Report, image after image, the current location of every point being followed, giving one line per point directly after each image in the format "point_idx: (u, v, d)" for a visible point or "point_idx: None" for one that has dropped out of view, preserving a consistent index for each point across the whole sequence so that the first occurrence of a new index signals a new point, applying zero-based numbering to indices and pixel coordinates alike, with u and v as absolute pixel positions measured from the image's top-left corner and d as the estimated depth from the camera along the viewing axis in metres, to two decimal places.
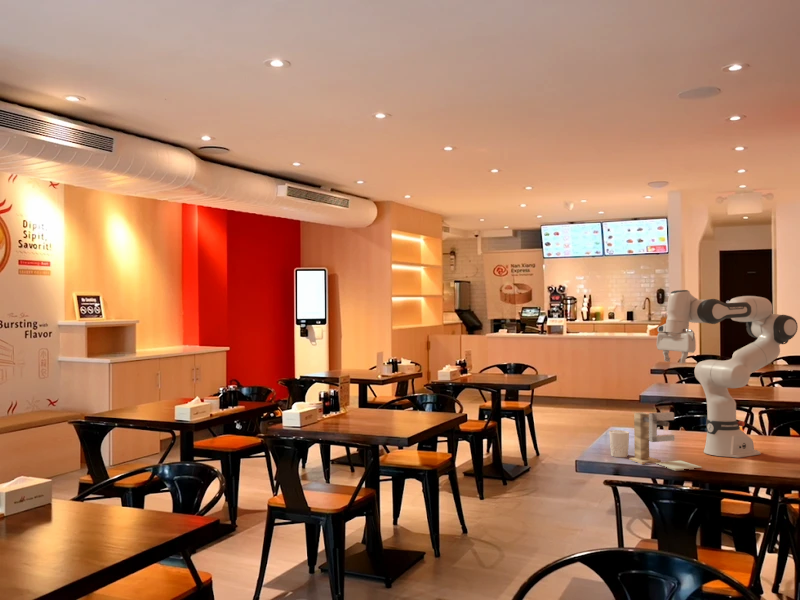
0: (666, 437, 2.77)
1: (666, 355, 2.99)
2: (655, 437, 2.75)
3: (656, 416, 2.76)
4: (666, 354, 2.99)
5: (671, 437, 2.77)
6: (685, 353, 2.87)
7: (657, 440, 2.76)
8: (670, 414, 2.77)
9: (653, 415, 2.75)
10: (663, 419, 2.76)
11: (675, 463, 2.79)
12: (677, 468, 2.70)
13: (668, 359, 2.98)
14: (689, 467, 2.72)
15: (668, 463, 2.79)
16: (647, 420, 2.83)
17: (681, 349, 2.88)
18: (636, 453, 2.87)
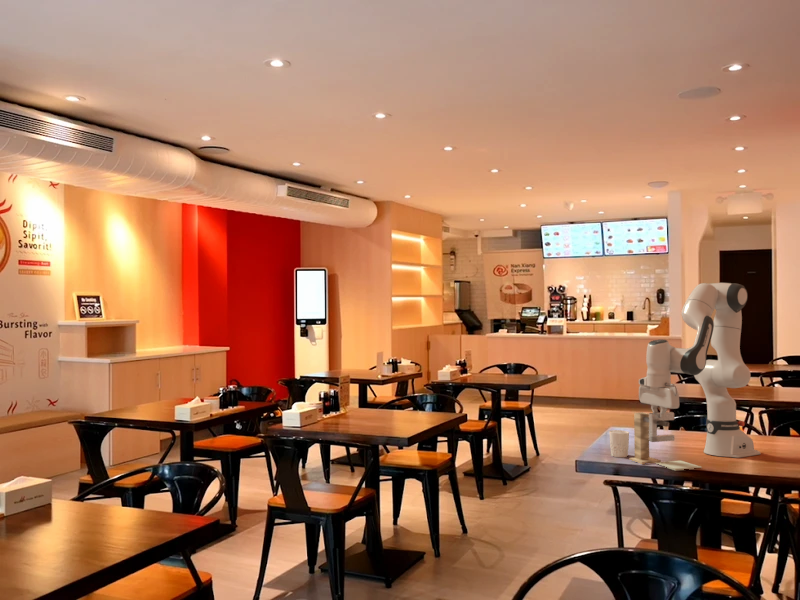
0: (666, 437, 2.77)
1: (655, 410, 2.79)
2: (655, 437, 2.75)
3: (656, 416, 2.76)
4: (655, 409, 2.79)
5: (671, 437, 2.77)
6: (664, 408, 2.74)
7: (657, 440, 2.76)
8: (670, 414, 2.77)
9: (653, 415, 2.75)
10: (663, 419, 2.76)
11: (675, 463, 2.79)
12: (677, 468, 2.70)
13: None
14: (689, 467, 2.72)
15: (668, 463, 2.79)
16: (647, 420, 2.83)
17: (664, 405, 2.71)
18: (636, 453, 2.87)
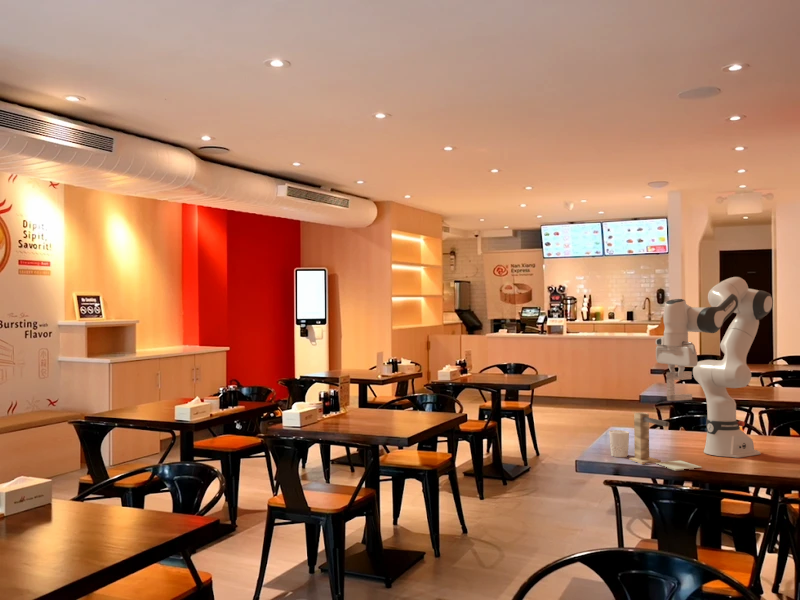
0: (684, 396, 2.77)
1: (672, 369, 2.80)
2: (673, 396, 2.76)
3: (674, 374, 2.76)
4: (672, 368, 2.80)
5: (688, 396, 2.78)
6: (682, 366, 2.74)
7: (675, 399, 2.76)
8: (688, 373, 2.78)
9: (671, 374, 2.76)
10: (681, 378, 2.77)
11: (675, 463, 2.79)
12: (677, 468, 2.70)
13: None
14: (689, 467, 2.72)
15: (668, 463, 2.79)
16: (647, 420, 2.83)
17: (682, 363, 2.71)
18: (636, 453, 2.87)
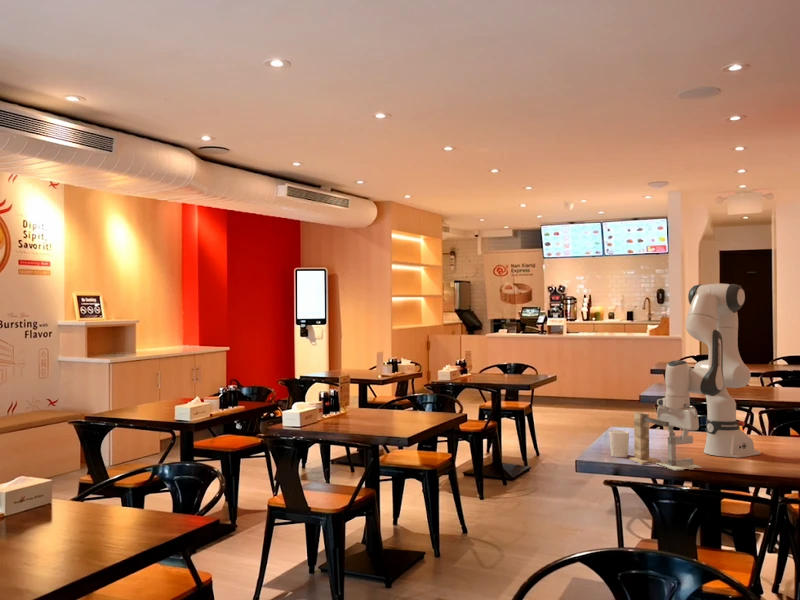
0: (685, 461, 2.77)
1: (671, 430, 2.81)
2: (674, 461, 2.75)
3: (675, 439, 2.76)
4: (671, 429, 2.81)
5: (690, 460, 2.77)
6: (686, 430, 2.72)
7: (676, 464, 2.76)
8: (689, 438, 2.78)
9: (672, 439, 2.75)
10: (682, 443, 2.77)
11: None
12: (677, 468, 2.70)
13: (673, 434, 2.80)
14: (689, 467, 2.72)
15: None
16: (647, 420, 2.83)
17: (684, 426, 2.71)
18: (636, 453, 2.87)
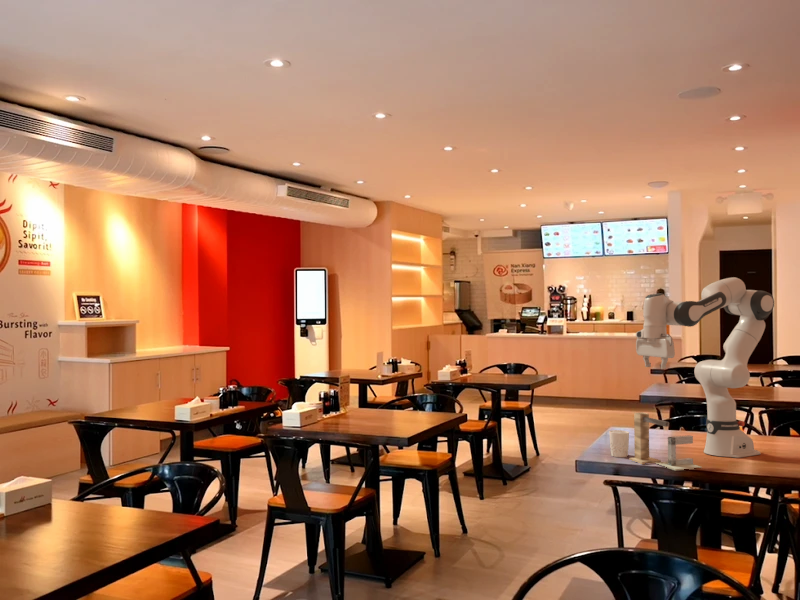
0: (685, 461, 2.77)
1: (646, 360, 2.94)
2: (674, 461, 2.75)
3: (675, 439, 2.76)
4: (646, 359, 2.94)
5: (690, 460, 2.78)
6: (665, 358, 2.82)
7: (676, 464, 2.76)
8: (689, 438, 2.78)
9: (672, 439, 2.75)
10: (682, 443, 2.77)
11: None
12: (677, 468, 2.70)
13: (649, 364, 2.92)
14: (689, 467, 2.72)
15: None
16: (647, 420, 2.83)
17: (660, 355, 2.82)
18: (636, 453, 2.87)
